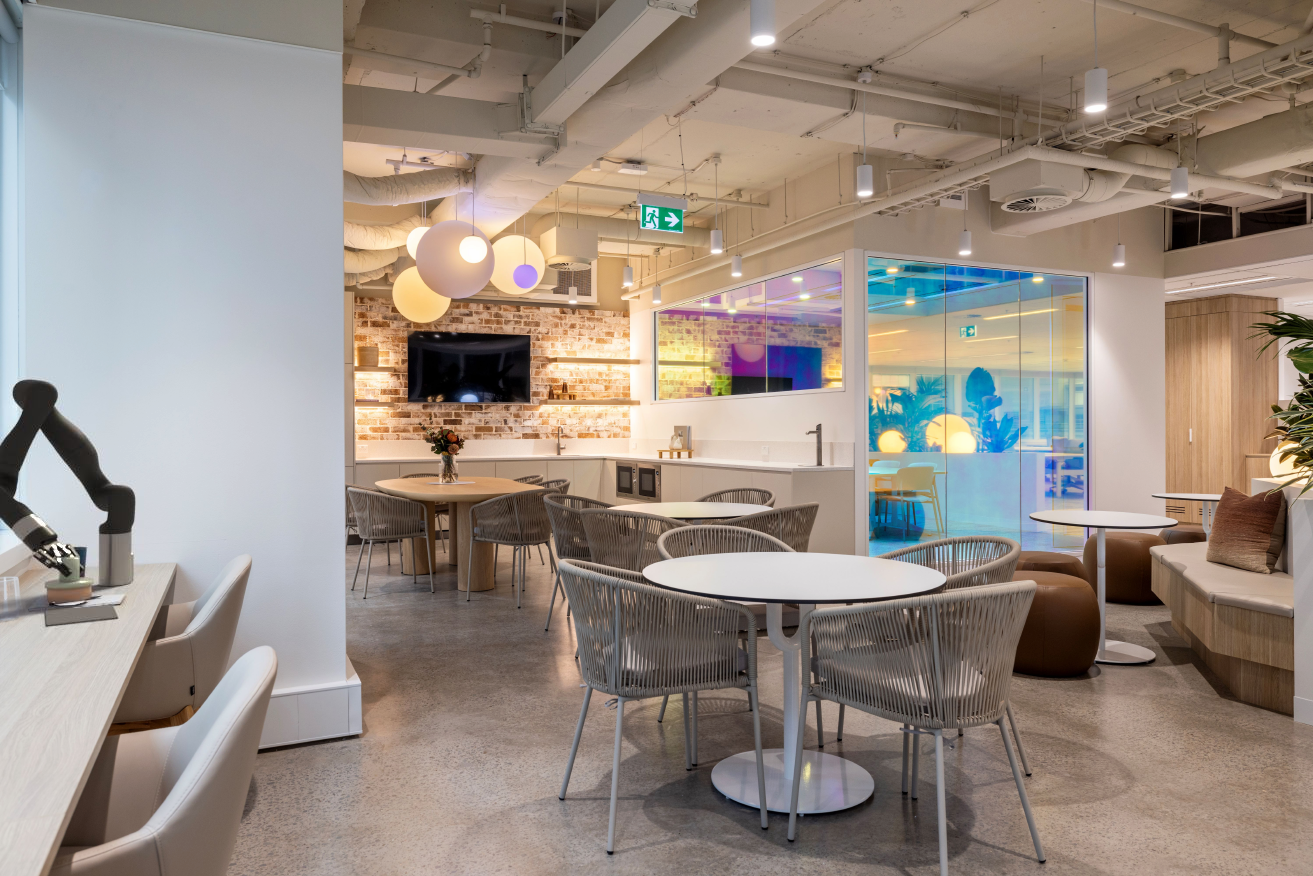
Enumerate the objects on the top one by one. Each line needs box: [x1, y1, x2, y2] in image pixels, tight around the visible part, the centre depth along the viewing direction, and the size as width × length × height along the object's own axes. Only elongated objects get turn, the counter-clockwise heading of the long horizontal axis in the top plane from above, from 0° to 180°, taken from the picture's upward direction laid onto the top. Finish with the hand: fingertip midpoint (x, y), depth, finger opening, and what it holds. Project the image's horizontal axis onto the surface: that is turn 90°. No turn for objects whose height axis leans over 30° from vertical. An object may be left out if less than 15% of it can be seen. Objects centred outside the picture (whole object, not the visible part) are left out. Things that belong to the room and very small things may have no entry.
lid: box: [44, 557, 95, 590], centre depth 249 cm, size 12×12×8 cm
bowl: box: [46, 584, 93, 603], centre depth 249 cm, size 11×11×6 cm
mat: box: [45, 603, 119, 627], centre depth 235 cm, size 22×16×1 cm
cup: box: [63, 546, 88, 578], centre depth 259 cm, size 7×7×15 cm
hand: (75, 573), depth 249 cm, fingers closed on lid, 5 cm apart
